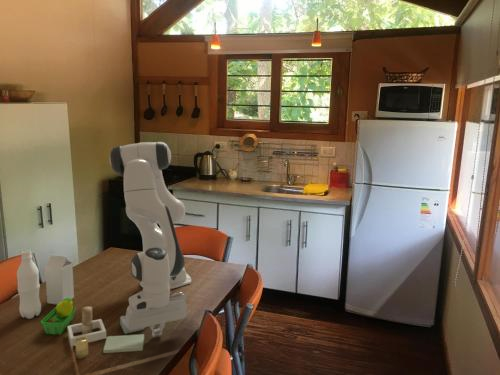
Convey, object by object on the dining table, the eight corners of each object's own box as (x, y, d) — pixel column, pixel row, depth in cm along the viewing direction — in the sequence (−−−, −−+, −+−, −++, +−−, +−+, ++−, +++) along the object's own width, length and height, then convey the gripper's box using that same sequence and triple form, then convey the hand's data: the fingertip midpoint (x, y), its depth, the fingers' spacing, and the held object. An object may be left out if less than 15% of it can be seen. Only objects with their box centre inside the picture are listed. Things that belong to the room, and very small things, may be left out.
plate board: (144, 340, 143) (144, 334, 142) (142, 354, 135) (142, 347, 135) (107, 343, 141) (107, 336, 140) (103, 357, 133) (103, 350, 133)
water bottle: (25, 310, 159) (20, 248, 154) (44, 310, 160) (40, 248, 155) (16, 320, 152) (11, 254, 147) (37, 320, 153) (32, 255, 148)
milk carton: (63, 305, 164) (60, 259, 160) (47, 303, 166) (44, 257, 162) (74, 297, 171) (72, 253, 167) (58, 295, 172) (56, 251, 169)
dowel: (91, 333, 145) (90, 305, 143) (93, 337, 142) (93, 309, 140) (81, 335, 143) (81, 307, 141) (83, 339, 140) (83, 311, 139)
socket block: (139, 322, 153) (139, 312, 153) (144, 331, 148) (144, 321, 147) (120, 327, 150) (120, 316, 149) (124, 336, 144) (124, 325, 144)
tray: (101, 328, 149) (101, 318, 148) (106, 340, 141) (106, 331, 141) (68, 335, 144) (67, 325, 143) (71, 349, 136) (70, 339, 135)
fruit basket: (56, 319, 154) (54, 290, 152) (80, 320, 154) (79, 291, 152) (40, 335, 143) (38, 305, 141) (66, 337, 143) (64, 306, 141)
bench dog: (87, 353, 134) (86, 336, 133) (89, 359, 131) (88, 341, 130) (75, 356, 132) (74, 338, 131) (77, 362, 129) (76, 344, 128)
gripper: (182, 287, 148) (182, 323, 151) (123, 298, 138) (124, 337, 141) (189, 294, 142) (189, 332, 145) (128, 307, 133) (129, 346, 135)
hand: (156, 334), depth 143 cm, fingers closed
